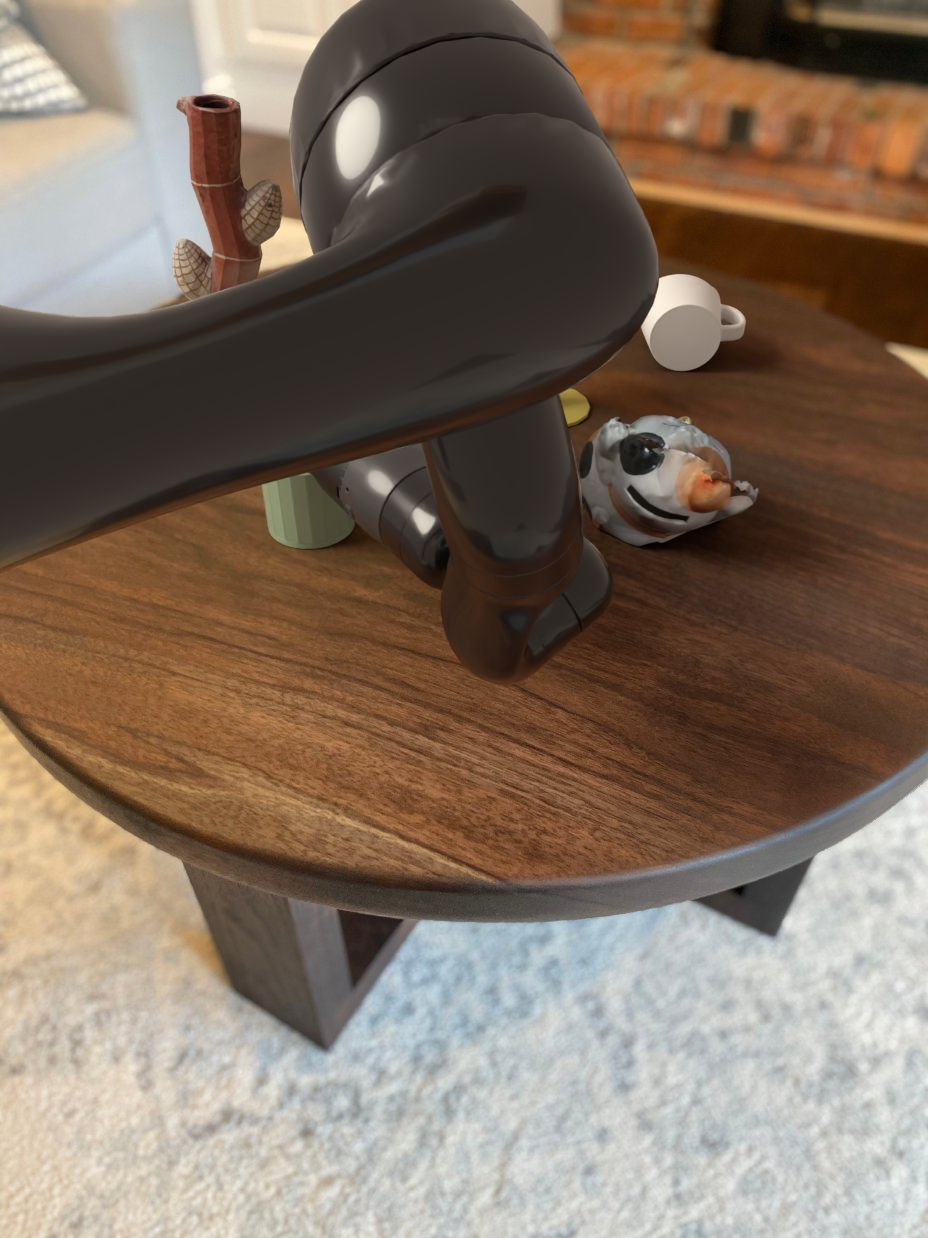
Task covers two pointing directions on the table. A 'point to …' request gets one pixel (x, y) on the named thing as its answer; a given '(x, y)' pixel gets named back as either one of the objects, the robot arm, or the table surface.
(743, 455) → the table surface
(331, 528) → the pen cup
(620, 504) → the white snowman head
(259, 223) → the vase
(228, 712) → the table surface
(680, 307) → the mug
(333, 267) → the robot arm
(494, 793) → the table surface
